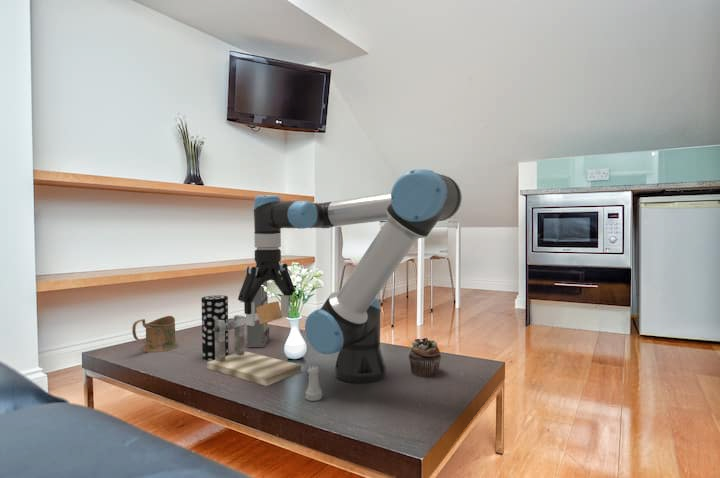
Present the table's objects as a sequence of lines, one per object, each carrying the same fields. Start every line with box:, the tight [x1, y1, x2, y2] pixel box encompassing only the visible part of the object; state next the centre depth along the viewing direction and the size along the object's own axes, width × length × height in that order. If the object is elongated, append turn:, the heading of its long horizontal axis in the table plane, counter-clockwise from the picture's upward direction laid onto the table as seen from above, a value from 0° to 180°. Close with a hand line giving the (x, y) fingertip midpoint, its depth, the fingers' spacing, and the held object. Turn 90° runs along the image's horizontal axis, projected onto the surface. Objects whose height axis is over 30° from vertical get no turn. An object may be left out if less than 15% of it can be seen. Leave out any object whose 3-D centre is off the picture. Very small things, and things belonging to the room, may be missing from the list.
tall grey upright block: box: [246, 281, 270, 349], centre depth 159 cm, size 14×6×25 cm, turn 4°
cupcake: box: [408, 337, 442, 378], centre depth 126 cm, size 10×10×10 cm
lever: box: [225, 300, 283, 332], centre depth 129 cm, size 24×4×5 cm, turn 56°
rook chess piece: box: [304, 364, 323, 402], centre depth 107 cm, size 4×4×8 cm
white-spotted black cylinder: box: [201, 294, 230, 362], centre depth 142 cm, size 8×8×20 cm
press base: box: [206, 315, 302, 387], centre depth 128 cm, size 26×14×14 cm, turn 56°
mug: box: [131, 315, 179, 353], centre depth 150 cm, size 12×18×12 cm, turn 162°
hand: (268, 320), depth 124 cm, fingers open, 13 cm apart
